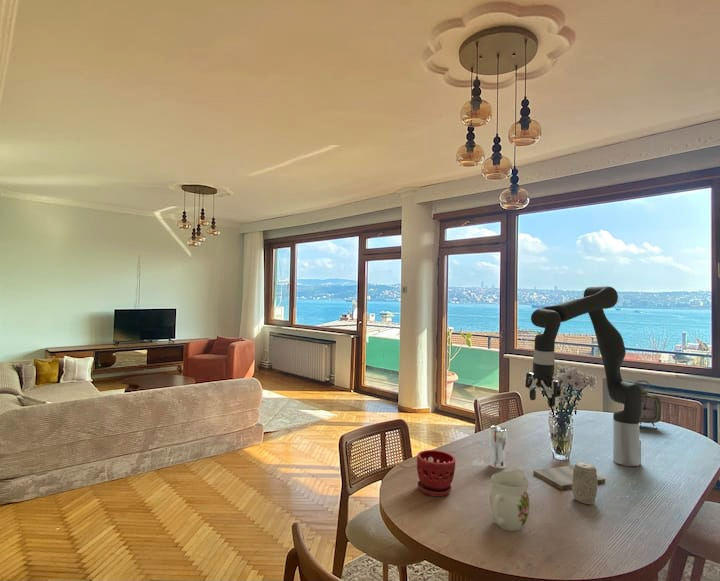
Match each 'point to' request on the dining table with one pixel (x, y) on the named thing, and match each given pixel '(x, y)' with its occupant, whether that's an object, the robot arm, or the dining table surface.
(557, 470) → the walnut board
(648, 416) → the tabletop clock
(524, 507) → the pitcher
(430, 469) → the plant pot
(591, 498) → the carving
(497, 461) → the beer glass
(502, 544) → the dining table surface
